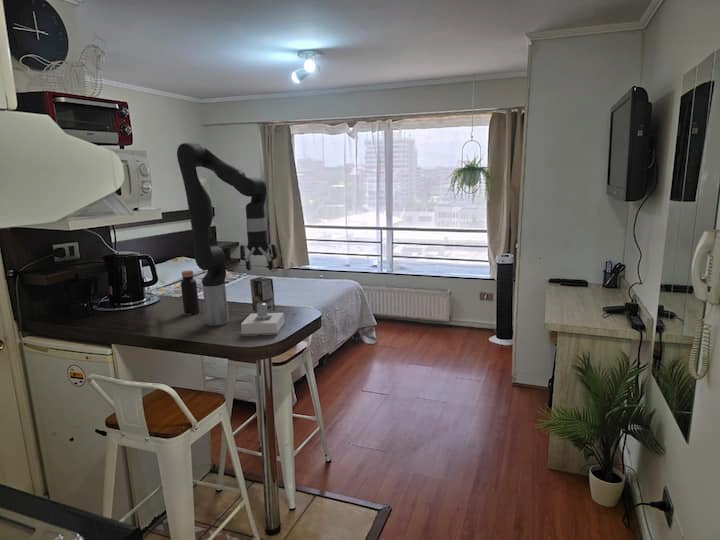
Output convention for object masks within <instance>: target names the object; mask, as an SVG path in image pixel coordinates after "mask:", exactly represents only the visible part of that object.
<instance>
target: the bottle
mask: <svg viewBox="0 0 720 540" xmlns="http://www.w3.org/2000/svg"><path fill="white" fill-rule="evenodd" d="M181 278H182V280H181V282H180V288H181V297H182V305H183V313H186V314H194V315H196V314H195V313H198V314H199V313H200V302H199V294H198V285H197V280H195V279H194V270H182V271H181Z"/></svg>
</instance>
